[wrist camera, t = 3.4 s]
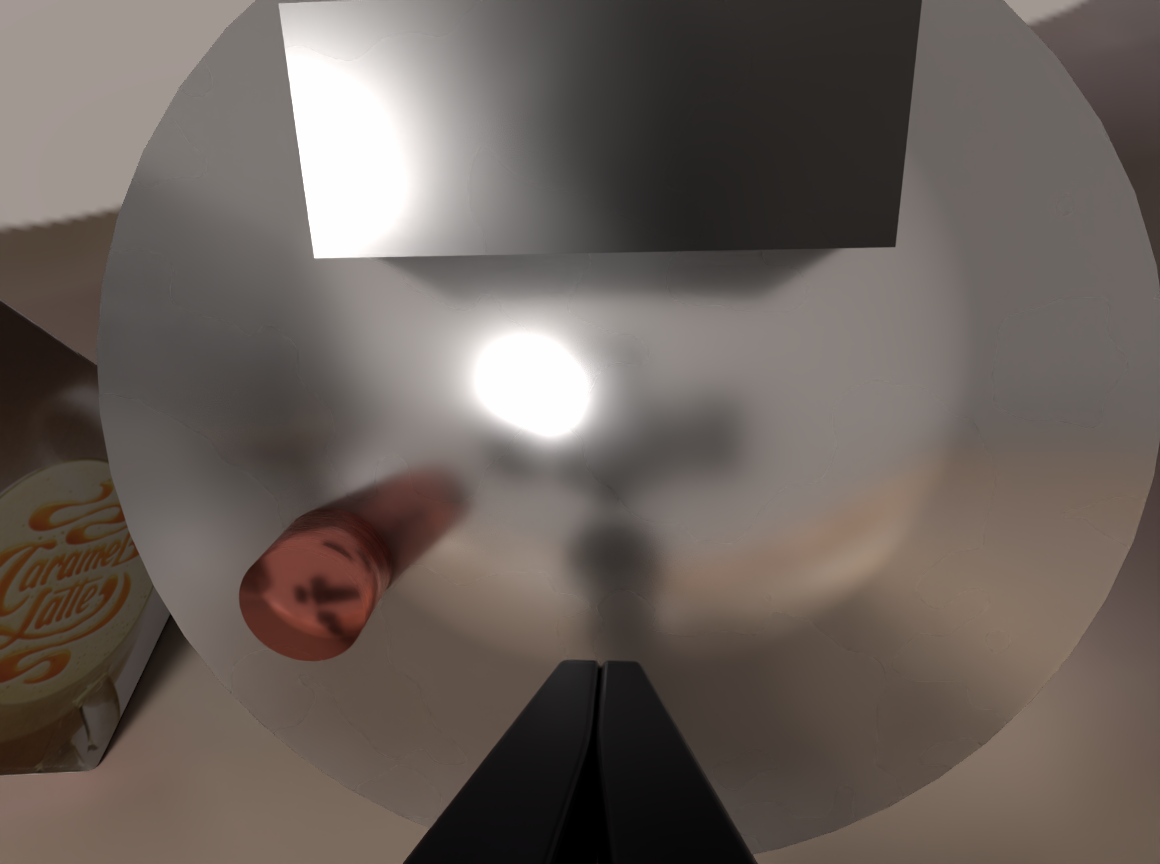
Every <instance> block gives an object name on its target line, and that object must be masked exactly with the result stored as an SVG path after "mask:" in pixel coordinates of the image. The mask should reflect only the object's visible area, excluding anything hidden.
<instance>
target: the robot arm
mask: <svg viewBox="0 0 1160 864" xmlns="http://www.w3.org/2000/svg"><path fill="white" fill-rule="evenodd" d="M403 864H758V863H757V862H756V860H755V858H754V857H753V855H752V853H751V851H750V850H749V848H748V846H747V845H746V843H745V841H744V839H743V838H742V836H741V834H740V832H739V831H738V829H737V827H736V826H735V824H734V822H733V820H732V819H731V817H730V815H729V813H728V812H727V810H726V808H725V807H724V805H723V803H722V801H721V800H720V798H719V796H718V795H717V793H716V791H715V789H714V788H713V786H712V784H711V782H710V781H709V779H708V777H707V776H706V774H705V772H704V770H703V769H702V767H701V765H700V763H699V762H698V760H697V758H696V757H695V755H694V753H693V751H692V750H691V748H690V746H689V745H688V743H687V741H686V739H685V738H684V736H683V734H682V732H681V731H680V729H679V727H678V726H677V724H676V722H675V720H674V719H673V717H672V715H671V713H670V712H669V710H668V708H667V707H666V705H665V703H664V701H663V700H662V698H661V696H660V695H659V693H658V691H657V689H656V688H655V686H654V684H653V682H652V681H651V679H650V677H649V676H648V674H647V672H646V670H645V669H644V667H643V666H642V664H641V663H639V662H638V661H624V660H607V661H605V662H603V664H602V665H601V667H600V664H599V662H597V661H596V660H575V659H567V660H563V661H561V662H560V663H559V664H558V665H557V667H556V668H555V669H554V670H553V672H552V673H551V674H550V676H549V677H548V678H547V679H546V681H545V682H544V683H543V685H542V686H541V687H540V688H539V690H538V691H537V692H536V693H535V695H534V696H533V697H532V699H531V700H530V701H529V702H528V704H527V705H526V706H525V708H524V709H523V710H522V711H521V713H520V714H519V715H518V717H517V718H516V719H515V720H514V722H513V723H512V724H511V725H510V727H509V728H508V729H507V731H506V732H505V733H504V734H503V736H502V737H501V738H500V740H499V741H498V742H497V743H496V745H495V746H494V747H493V749H492V750H491V751H490V752H489V754H488V755H487V756H486V758H485V759H484V760H483V761H482V763H481V764H480V765H479V766H478V768H477V769H476V770H475V772H474V773H473V774H472V775H471V777H470V778H469V779H468V781H467V782H466V783H465V784H464V786H463V787H462V788H461V790H460V791H459V792H458V793H457V795H456V796H455V797H454V798H453V800H452V801H451V802H450V804H449V805H448V806H447V807H446V809H445V810H444V811H443V813H442V814H441V815H440V816H439V818H438V819H437V820H436V822H435V823H434V824H433V825H432V827H431V828H430V829H429V830H428V832H427V833H426V834H425V836H424V837H423V838H422V839H421V841H420V842H419V843H418V845H417V846H416V847H415V848H414V850H413V851H412V852H411V854H410V855H409V856H408V857H407V859H406V860H405V861H404V862H403Z"/></svg>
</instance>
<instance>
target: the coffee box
mask: <svg viewBox="0 0 1160 864" xmlns="http://www.w3.org/2000/svg"><path fill="white" fill-rule="evenodd" d="M169 615H170V612H169V610H168V608H167V607H166V605H165V603H164V602H163V600H162V598H161V597H160V595H159V594H158V592H157V590H156V589H155V587H154V585H153V583H152V581H151V578H150V576H149V574H148V572H147V570H146V568H145V565H144V563H143V561H142V559H141V557H140V554H139V552H138V550H137V548H136V546H135V544H134V541H133V539H132V537H131V535H130V533H129V530H128V526H127V523H126V520H125V517H124V514H123V511H122V508H121V504H120V501H119V498H118V495H117V492H116V489H115V486H114V482H113V479H112V476H111V472H110V466H109V461H108V455H107V450H106V444H105V439H104V433H103V428H102V423H101V417H100V408H99V387H98V367H97V365H95V364H94V363H92V362H91V361H89V360H88V359H86V358H85V357H84V356H82V355H81V354H79V353H78V352H76V351H75V350H73V349H72V348H70V347H69V346H68V345H66V344H65V343H63V342H62V341H60V340H59V339H58V338H56V337H55V336H53V335H52V334H50V333H49V332H48V331H46V330H45V329H43V328H42V327H40V326H39V325H37V324H36V323H34V322H33V321H31V320H30V319H28V318H27V317H25V316H24V315H22V314H21V313H20V312H18V311H17V310H15V309H14V308H12V307H11V306H9V305H8V304H6V303H5V302H3V301H2V300H0V776H12V775H32V774H48V773H78V772H86V771H89V770H92V769H94V768H95V767H96V766H97V765H98V763H99V761H100V759H101V757H102V755H103V753H104V751H105V749H106V747H107V745H108V743H109V741H110V739H111V737H112V735H113V733H114V731H115V728H116V726H117V724H118V722H119V720H120V718H121V716H122V714H123V712H124V710H125V707H126V705H127V703H128V701H129V699H130V697H131V695H132V693H133V691H134V689H135V687H136V685H137V682H138V680H139V678H140V676H141V674H142V672H143V670H144V668H145V666H146V664H147V661H148V659H149V657H150V655H151V653H152V651H153V649H154V647H155V645H156V642H157V640H158V638H159V636H160V634H161V632H162V630H163V628H164V626H165V624H166V622H167V619H168V617H169Z"/></svg>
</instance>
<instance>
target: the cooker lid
mask: <svg viewBox="0 0 1160 864" xmlns="http://www.w3.org/2000/svg"><path fill="white" fill-rule="evenodd" d="M97 367H98V387H99V408H100V417H101V423H102V428H103V433H104V439H105V444H106V450H107V455H108V461H109V466H110V472H111V476H112V479H113V482H114V486H115V489H116V492H117V495H118V498H119V501H120V504H121V508H122V511H123V514H124V517H125V520H126V523H127V526H128V530H129V533H130V535H131V537H132V539H133V541H134V544H135V546H136V548H137V550H138V552H139V554H140V557H141V559H142V561H143V563H144V565H145V568H146V570H147V572H148V574H149V576H150V578H151V581H152V583H153V585H154V587H155V589H156V590H157V592H158V594H159V595H160V597H161V598H162V600H163V602H164V603H165V605H166V607H167V608H168V610H169V612H170V613H171V615H172V616H173V618H174V620H175V621H176V623H177V625H178V626H179V628H180V630H181V631H182V633H183V634H184V636H185V638H186V639H187V640H188V641H189V643H190V644H191V645H192V646H193V648H194V649H195V650H196V652H197V653H198V654H199V655H200V657H201V658H202V659H203V661H204V662H205V663H206V664H207V666H208V667H209V668H210V670H211V671H212V672H213V673H214V675H215V676H216V677H217V679H218V680H219V681H220V682H221V683H222V684H223V685H224V686H225V687H226V688H227V690H228V691H229V692H230V693H231V694H232V695H233V696H234V697H235V698H236V699H237V700H238V701H239V702H240V703H241V704H242V705H243V706H244V707H245V708H246V709H247V710H248V711H249V712H250V713H251V714H252V715H253V716H254V717H255V718H256V719H257V720H258V721H259V722H260V723H261V724H262V725H263V726H264V727H266V728H267V729H268V730H269V731H270V732H272V733H273V734H274V735H275V736H277V737H278V738H279V739H280V740H281V741H283V742H284V743H285V744H286V745H287V746H289V747H290V748H291V749H292V750H293V751H295V752H296V753H297V754H298V755H299V756H301V757H302V758H303V759H305V760H306V761H308V762H309V763H311V764H312V765H314V766H315V767H317V768H318V769H320V770H321V771H323V772H324V773H326V774H327V775H329V776H330V777H332V778H333V779H335V780H336V781H338V782H339V783H341V784H342V785H344V786H345V787H347V788H348V789H350V790H352V791H353V792H355V793H357V794H359V795H361V796H363V797H365V798H367V799H369V800H371V801H372V802H374V803H376V804H378V805H380V806H382V807H384V808H386V809H388V810H390V811H391V812H393V813H395V814H397V815H399V816H402V817H404V818H406V819H409V820H411V821H414V822H416V823H419V824H421V825H424V826H426V827H429V828H431V827H432V825H433V824H434V823H435V822H436V820H437V819H438V818H439V816H440V815H441V814H442V813H443V811H444V810H445V809H446V807H447V806H448V805H449V804H450V802H451V801H452V800H453V798H454V797H455V796H456V795H457V793H458V792H459V791H460V790H461V788H462V787H463V786H464V784H465V783H466V782H467V781H468V779H469V778H470V777H471V775H472V774H473V773H474V772H475V770H476V769H477V768H478V766H479V765H480V764H481V763H482V761H483V760H484V759H485V758H486V756H487V755H488V754H489V752H490V751H491V750H492V749H493V747H494V746H495V745H496V743H497V742H498V741H499V740H500V738H501V737H502V736H503V734H504V733H505V732H506V731H507V729H508V728H509V727H510V725H511V724H512V723H513V722H514V720H515V719H516V718H517V717H518V715H519V714H520V713H521V711H522V710H523V709H524V708H525V706H526V705H527V704H528V702H529V701H530V700H531V699H532V697H533V696H534V695H535V693H536V692H537V691H538V690H539V688H540V687H541V686H542V685H543V683H544V682H545V681H546V679H547V678H548V677H549V676H550V674H551V673H552V672H553V670H554V669H555V668H556V667H557V665H558V664H559V663H560V662H561V661H563V660H567V659H575V660H596V661H597V662H599V664H600V667H601V665H602V664H603V662H605V661H607V660H624V661H638V662H639V663H641V664H642V666H643V667H644V669H645V670H646V672H647V674H648V676H649V677H650V679H651V681H652V682H653V684H654V686H655V688H656V689H657V691H658V693H659V695H660V696H661V698H662V700H663V701H664V703H665V705H666V707H667V708H668V710H669V712H670V713H671V715H672V717H673V719H674V720H675V722H676V724H677V726H678V727H679V729H680V731H681V732H682V734H683V736H684V738H685V739H686V741H687V743H688V745H689V746H690V748H691V750H692V751H693V753H694V755H695V757H696V758H697V760H698V762H699V763H700V765H701V767H702V769H703V770H704V772H705V774H706V776H707V777H708V779H709V781H710V782H711V784H712V786H713V788H714V789H715V791H716V793H717V795H718V796H719V798H720V800H721V801H722V803H723V805H724V807H725V808H726V810H727V812H728V813H729V815H730V817H731V819H732V820H733V822H734V824H735V826H736V827H737V829H738V831H739V832H740V834H741V836H742V838H743V839H744V841H745V843H746V845H747V846H748V848H749V850H750V851H751V853H752V855H753V854H758V853H762V852H767V851H772V850H776V849H781V848H784V847H787V846H790V845H793V844H796V843H799V842H802V841H806V840H809V839H812V838H815V837H818V836H821V835H824V834H827V833H831V832H834V831H836V830H838V829H841V828H843V827H845V826H847V825H850V824H852V823H854V822H856V821H859V820H861V819H863V818H866V817H868V816H870V815H872V814H875V813H877V812H879V811H881V810H884V809H886V808H888V807H890V806H891V805H893V804H895V803H897V802H898V801H900V800H902V799H904V798H905V797H907V796H909V795H910V794H912V793H914V792H916V791H917V790H919V789H921V788H923V787H924V786H926V785H928V784H930V783H931V782H933V781H935V780H936V779H938V778H940V777H941V776H942V775H944V774H945V773H946V772H948V771H949V770H950V769H952V768H953V767H954V766H956V765H957V764H959V763H960V762H961V761H963V760H964V759H965V758H967V757H968V756H969V755H971V754H972V753H973V752H975V751H976V750H978V749H979V748H980V747H982V746H983V745H984V744H986V743H987V742H988V741H989V740H990V739H991V738H992V737H993V736H994V735H995V734H997V733H998V732H999V731H1000V730H1001V729H1002V728H1003V727H1004V726H1005V725H1006V724H1007V723H1008V722H1009V721H1010V720H1012V719H1013V718H1014V717H1015V716H1016V715H1017V714H1018V713H1019V712H1020V711H1021V710H1022V709H1023V708H1024V707H1025V706H1026V705H1028V704H1029V703H1030V702H1031V701H1032V700H1033V698H1034V697H1035V696H1036V695H1037V694H1038V692H1039V691H1040V690H1041V689H1042V688H1043V686H1044V685H1045V684H1046V683H1047V682H1048V680H1049V679H1050V678H1051V677H1052V676H1053V675H1054V673H1055V672H1056V671H1057V670H1058V669H1059V667H1060V666H1061V665H1062V664H1063V663H1064V661H1065V660H1066V659H1067V658H1068V657H1069V655H1070V654H1071V653H1072V651H1073V650H1074V648H1075V647H1076V645H1077V644H1078V642H1079V641H1080V639H1081V637H1082V636H1083V634H1084V633H1085V631H1086V630H1087V628H1088V627H1089V625H1090V624H1091V622H1092V620H1093V619H1094V617H1095V616H1096V614H1097V613H1098V611H1099V610H1100V608H1101V606H1102V605H1103V603H1104V602H1105V600H1106V598H1107V596H1108V594H1109V592H1110V590H1111V588H1112V586H1113V583H1114V581H1115V579H1116V577H1117V575H1118V573H1119V571H1120V569H1121V567H1122V564H1123V562H1124V560H1125V558H1126V556H1127V554H1128V552H1129V550H1130V548H1131V545H1132V543H1133V541H1134V538H1135V535H1136V532H1137V529H1138V526H1139V522H1140V519H1141V516H1142V513H1143V510H1144V507H1145V503H1146V500H1147V497H1148V494H1149V491H1150V488H1151V484H1152V481H1153V478H1154V473H1155V467H1156V461H1157V455H1158V449H1159V443H1160V287H1159V279H1158V272H1157V265H1156V261H1155V258H1154V255H1153V251H1152V248H1151V244H1150V241H1149V238H1148V234H1147V231H1146V228H1145V224H1144V221H1143V217H1142V214H1141V211H1140V207H1139V204H1138V200H1137V197H1136V194H1135V191H1134V189H1133V187H1132V185H1131V183H1130V181H1129V178H1128V176H1127V174H1126V172H1125V170H1124V168H1123V166H1122V164H1121V162H1120V160H1119V157H1118V155H1117V153H1116V151H1115V149H1114V147H1113V145H1112V143H1111V141H1110V139H1109V136H1108V134H1107V132H1106V130H1105V128H1104V126H1103V124H1102V122H1101V120H1100V119H1099V117H1098V116H1097V114H1096V113H1095V112H1094V110H1093V109H1092V107H1091V106H1090V104H1089V103H1088V101H1087V100H1086V98H1085V97H1084V96H1083V94H1082V93H1081V91H1080V90H1079V88H1078V87H1077V85H1076V84H1075V82H1074V81H1073V79H1072V78H1071V77H1070V75H1069V74H1068V72H1067V71H1066V69H1065V68H1064V66H1063V65H1062V63H1061V62H1060V61H1059V59H1058V58H1057V56H1056V55H1055V54H1054V53H1053V52H1052V51H1051V50H1050V49H1049V48H1048V46H1047V45H1046V44H1045V43H1044V42H1043V41H1042V40H1041V39H1040V38H1039V37H1038V36H1037V35H1036V34H1035V33H1034V32H1033V31H1032V30H1031V29H1030V28H1029V27H1028V25H1027V24H1026V23H1025V22H1024V21H1023V20H1022V19H1021V18H1020V17H1019V16H1018V15H1017V14H1016V13H1015V12H1014V11H1013V10H1012V9H1011V8H1010V7H1009V6H1008V5H1007V3H1006V2H1005V1H1004V0H256V1H255V2H254V3H252V4H251V5H250V6H249V7H248V8H247V9H246V10H245V11H244V12H243V13H242V14H241V15H240V16H239V17H238V18H237V19H235V20H234V21H233V22H232V23H231V24H230V25H229V26H228V27H227V28H226V29H225V30H224V32H223V33H222V34H221V35H220V37H219V38H218V39H217V41H216V42H215V43H214V44H213V46H212V47H211V48H210V49H209V51H208V52H207V53H206V54H205V56H204V57H203V58H202V60H201V61H200V62H199V63H198V65H197V66H196V67H195V68H194V70H193V71H192V72H191V74H190V75H189V76H188V77H187V79H186V80H185V81H184V82H183V84H182V85H181V86H180V88H179V90H178V91H177V93H176V94H175V96H174V98H173V100H172V102H171V103H170V105H169V107H168V109H167V110H166V112H165V114H164V116H163V117H162V119H161V121H160V123H159V124H158V126H157V128H156V130H155V131H154V133H153V135H152V137H151V139H150V140H149V142H148V144H147V145H146V147H145V149H144V151H143V153H142V156H141V158H140V161H139V163H138V166H137V169H136V172H135V174H134V176H133V179H132V181H131V184H130V186H129V189H128V192H127V194H126V197H125V199H124V202H123V204H122V207H121V210H120V212H119V215H118V218H117V222H116V226H115V231H114V235H113V239H112V244H111V248H110V252H109V257H108V261H107V265H106V270H105V274H104V278H103V283H102V293H101V304H100V316H99V327H98V339H97Z"/></svg>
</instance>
